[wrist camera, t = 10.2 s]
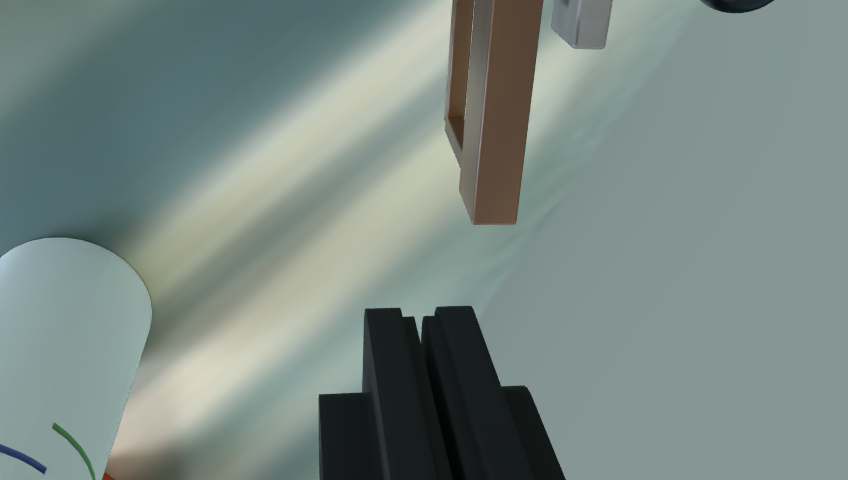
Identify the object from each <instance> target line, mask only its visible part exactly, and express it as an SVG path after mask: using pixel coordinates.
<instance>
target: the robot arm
mask: <svg viewBox="0 0 848 480" xmlns="http://www.w3.org/2000/svg"><path fill="white" fill-rule="evenodd" d="M319 473H320V480H566V479H565V477H564V474H563V472H562V469H561V467H560V464H559V462H558V460H557V457H556V455H555V452H554V450H553V447H552V445H551V443H550V440H549V438H548V435H547V433H546V430H545V428H544V425H543V423H542V420H541V418H540V415H539V413H538V410H537V408H536V406H535V403H534V401H533V398H532V396H531V394H530V392H529V390H528V388H527V387H525V386H503V387H501V385H500V382H499V379H498V376H497V374H496V371H495V368H494V365H493V362H492V360H491V357H490V354H489V351H488V349H487V346H486V343H485V340H484V338H483V335H482V332H481V329H480V327H479V324H478V321H477V318H476V315H475V313H474V310H473V308H472V306H446V307H437V308H436V310H435V315H434V316H424V317H423V321H422V334H421V343H420V339H419V335H418V331H417V327H416V322H415V319H414V317H402V313H401V309H400V308H375V309H365V314H364V343H363V382H362V393H342V394H319Z"/></svg>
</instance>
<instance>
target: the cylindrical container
mask: <svg viewBox="0 0 848 480" xmlns="http://www.w3.org/2000/svg"><path fill="white" fill-rule="evenodd" d="M151 320H152V307H151V299H150V297H149V294H148V291H147V289H146V286H145V285H144V283H143V282H142V280H141V279H140V277H139V276H138V274H137V273H136V272H135V271H134V270H133V269H132V268H131V267H130V266H129V265H128V264H127V262H125V261H124V260H123V259H121V258H120V257H118V256H117V255H116V254H114V253H113V252H111V251H109V250H107V249H105V248H103V247H101V246H99V245H96V244H93V243H90V242H86V241H83V240H78V239H71V238H43V239H38V240H33V241H29V242H26V243H24V244H22V245H19V246H17V247H14V248H13V249H11V250H10V251H9V252H7V253H6V254H4V255H3V256H2V257H1V258H0V480H102V478H103V474H104V471H105V468H106V465H107V462H108V459H109V456H110V452H111V449H112V446H113V443H114V440H115V437H116V434H117V431H118V427H119V424H120V421H121V418H122V415H123V412H124V409H125V405H126V402H127V399H128V396H129V393H130V390H131V387H132V383H133V380H134V377H135V374H136V371H137V368H138V365H139V362H140V358H141V355H142V352H143V349H144V346H145V343H146V340H147V336H148V333H149V330H150V327H151Z"/></svg>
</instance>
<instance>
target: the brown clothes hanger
mask: <svg viewBox="0 0 848 480" xmlns="http://www.w3.org/2000/svg"><path fill="white" fill-rule="evenodd" d="M612 1H613V0H555V1H554V7H553V15H552V23H551V27H552V29H553V30H554V31H555V32H556V33H557V34H558V35H559V36H560V37H561V38H563V39H564V40H565V41H566V42H567V43H568V44H569V45H570V46H571V47H573V48H575V49H603V48H604V47H605V44H606V38H607V32H608V26H609V19H610V13H611V7H612ZM542 7H543V0H475V6H474V0H453V4H452V18H451V32H450V46H449V60H448V74H447V88H446V102H445V116H444V120H445V122H446V123H445V132H446V134H447V137H448V139H449V142H450V144H451V146H452V149H453V151H454V154H455V156H456V158H457V161H458V163H459V166H460V168H461V173H460V185H459V191H460V194H461V196H462V199H463V201H464V204H465V207H466V209H467V212H468V214H469V217H470V220H471V222H472V224H474V225H513V224H516V220H517V212H518V204H519V196H520V188H521V179H522V171H523V163H524V155H525V147H526V138H527V130H528V122H529V114H530V106H531V97H532V89H533V81H534V73H535V65H536V56H537V48H538V40H539V32H540V23H541V15H542ZM473 10H474V18H473ZM472 22H473V30H472ZM471 34H472V42H471ZM470 46H471V54H470ZM469 58H470V66H469ZM468 70H469V78H468ZM467 82H468V90H467ZM466 94H467V102H466ZM465 106H466V114H465ZM464 118H465V119H464Z"/></svg>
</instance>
